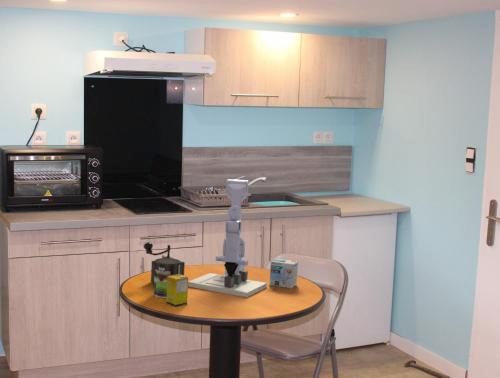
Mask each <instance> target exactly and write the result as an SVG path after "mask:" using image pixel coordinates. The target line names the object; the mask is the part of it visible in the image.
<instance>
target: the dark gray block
mask: <svg viewBox="0 0 500 378" xmlns="http://www.w3.org/2000/svg"><path fill="white" fill-rule="evenodd" d="M232 277H234V283H233V284H240V283H241V274H238V273H234V274H232Z"/></svg>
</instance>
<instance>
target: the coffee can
mask: <svg viewBox="0 0 500 378" xmlns="http://www.w3.org/2000/svg"><path fill="white" fill-rule="evenodd" d="M172 258H173V257H172ZM172 258H163V257H160V258H156V259H154V261H155V272H154V283H153V296H154V297H156V298H159V299H167V276H171V275H177V274H180V261H181V260H180V259H177V258H174V259H172Z"/></svg>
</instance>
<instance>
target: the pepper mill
mask: <svg viewBox="0 0 500 378" xmlns="http://www.w3.org/2000/svg"><path fill="white" fill-rule="evenodd" d="M153 246H154V244H153V243H152V242H145V243H144V244H143V249H145V254H146V255H148V254H149V255H150V256H159V255H162V256H161V258H172V259H175V258H173V257H171V256H170V253H171V250H172V249H171V245H170V244H168V245H166V246H167V248H166V249H165V250H162V251H161V252H158V253H157V252H156V253H154V252H153V250H152V249H153ZM166 253H167V256H164V254H166ZM185 265H186V263H185V261H182V260H180V274H181V275H183V276H185ZM150 272H151V274H150V276H151V277H150V282H151V283H153V284H154V272H155V260H152V261H151V269H150Z"/></svg>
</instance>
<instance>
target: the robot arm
mask: <svg viewBox="0 0 500 378" xmlns="http://www.w3.org/2000/svg"><path fill="white" fill-rule="evenodd" d="M225 192H226V198H228V200H230V201H231V204H230V205H231V206H230V207H229V208H228V212H227V221H225V239H223V245H222V255H217V256H215V261H216V262H222V263H223V266H224V274H223V275H224V276H231V277H232V274H234V273H238V274H239V271H240V270H244V271H245V267H247V266H248V265H249V260H247V259H244V258H245V253H246V241H245V239H243V238H242V237H241V233H242V212H243V211H242V203H243V201H244V200H246V199H248V195H249V180H248V179H246V180H245V179H230V178H229V179H228V178H227V179H226V184H225Z"/></svg>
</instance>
